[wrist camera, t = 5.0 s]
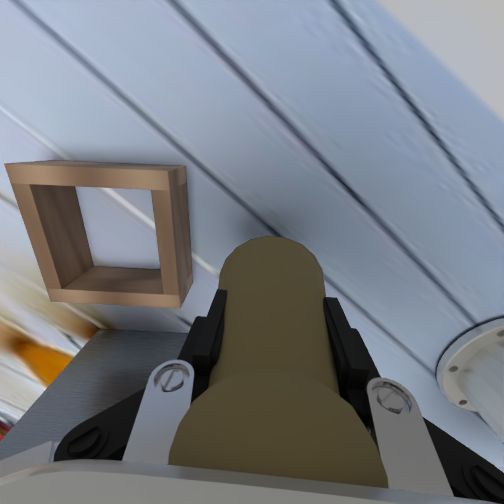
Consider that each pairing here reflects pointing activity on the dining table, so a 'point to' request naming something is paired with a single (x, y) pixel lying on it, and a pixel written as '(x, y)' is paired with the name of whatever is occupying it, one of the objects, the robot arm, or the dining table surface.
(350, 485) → the robot arm
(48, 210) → the socket block
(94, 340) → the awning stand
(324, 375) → the cork
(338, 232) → the dining table surface
